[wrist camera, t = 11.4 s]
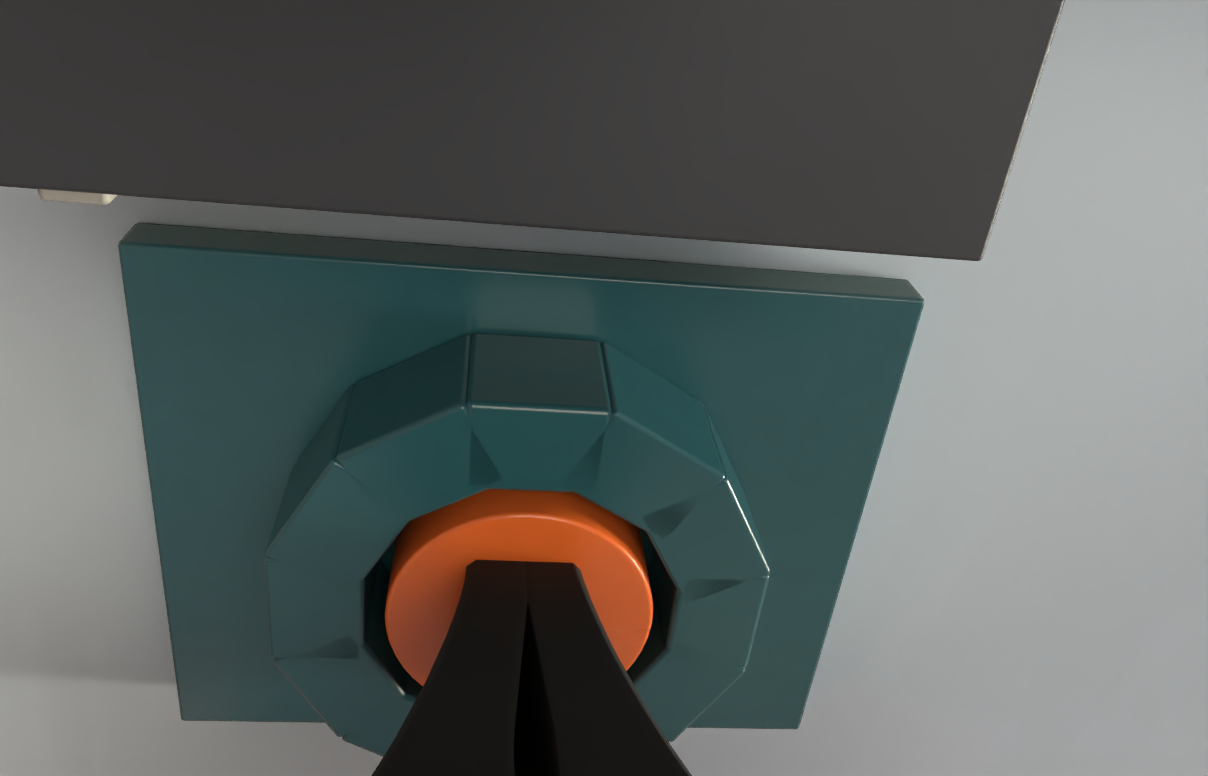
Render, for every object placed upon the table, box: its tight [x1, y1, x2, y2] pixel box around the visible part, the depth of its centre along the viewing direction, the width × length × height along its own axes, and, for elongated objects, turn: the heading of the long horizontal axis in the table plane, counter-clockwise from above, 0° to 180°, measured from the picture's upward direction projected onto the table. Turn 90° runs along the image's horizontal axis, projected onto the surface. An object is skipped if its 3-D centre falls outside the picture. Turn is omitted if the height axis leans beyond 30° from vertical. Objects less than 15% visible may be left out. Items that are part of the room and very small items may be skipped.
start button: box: [385, 489, 653, 686], centre depth 14 cm, size 3×3×2 cm
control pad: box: [118, 223, 924, 757], centre depth 14 cm, size 10×8×2 cm
